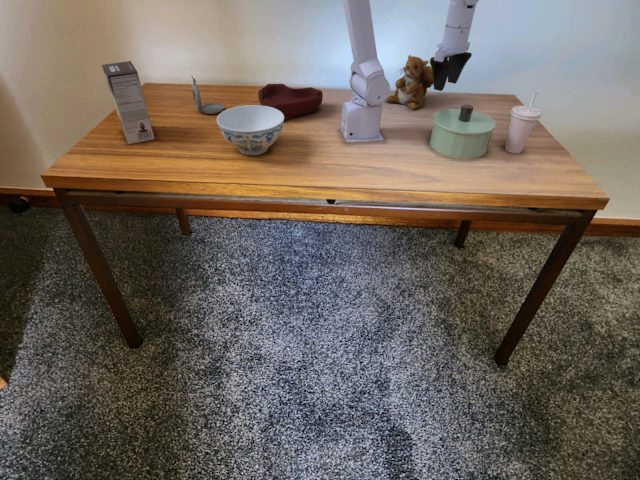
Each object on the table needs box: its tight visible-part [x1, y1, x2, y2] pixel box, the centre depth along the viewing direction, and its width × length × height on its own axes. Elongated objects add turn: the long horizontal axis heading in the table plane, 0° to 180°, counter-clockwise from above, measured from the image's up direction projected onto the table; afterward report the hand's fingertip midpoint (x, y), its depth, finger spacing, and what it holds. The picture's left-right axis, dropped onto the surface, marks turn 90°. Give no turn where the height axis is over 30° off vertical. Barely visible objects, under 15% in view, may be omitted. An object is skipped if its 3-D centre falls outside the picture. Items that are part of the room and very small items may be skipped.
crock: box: [429, 121, 493, 159], centre depth 95 cm, size 13×13×6 cm
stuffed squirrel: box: [385, 54, 434, 111], centre depth 116 cm, size 10×14×13 cm
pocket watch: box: [191, 75, 225, 115], centre depth 108 cm, size 8×8×10 cm
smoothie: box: [504, 91, 542, 154], centre depth 92 cm, size 6×6×14 cm
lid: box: [432, 104, 497, 135], centre depth 92 cm, size 14×14×4 cm
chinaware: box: [216, 104, 285, 156], centre depth 91 cm, size 15×15×8 cm
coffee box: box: [101, 60, 156, 145], centre depth 94 cm, size 9×6×16 cm
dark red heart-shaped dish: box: [257, 83, 323, 121], centre depth 110 cm, size 18×16×5 cm
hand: (445, 86), depth 100 cm, fingers open, 7 cm apart
